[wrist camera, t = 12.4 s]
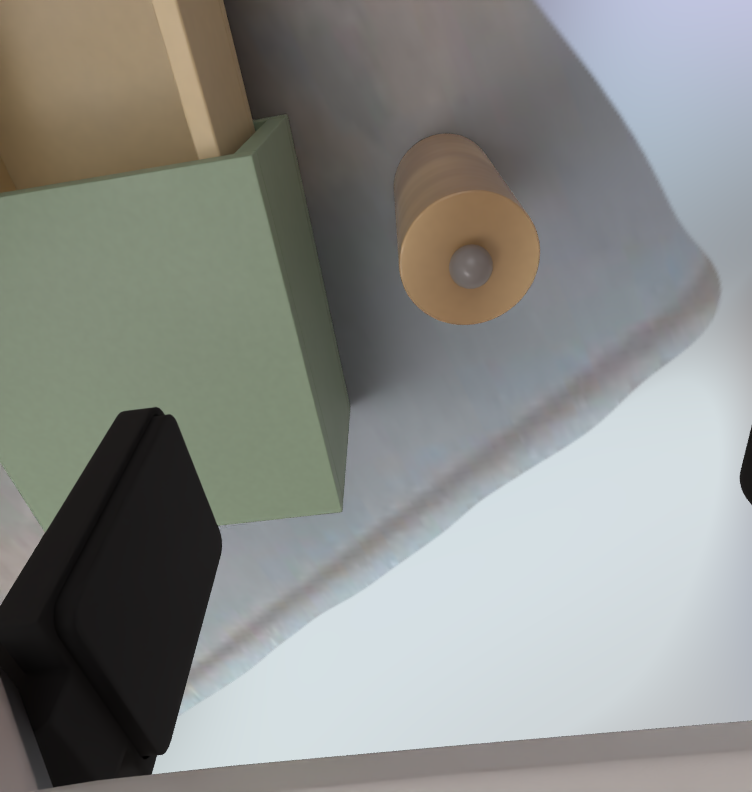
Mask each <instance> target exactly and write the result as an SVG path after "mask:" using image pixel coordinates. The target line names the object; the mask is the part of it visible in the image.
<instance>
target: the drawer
mask: <svg viewBox="0 0 752 792" xmlns="http://www.w3.org/2000/svg"><path fill="white" fill-rule="evenodd" d="M254 133H255V128H254V124H253V120H252V116H251V112H250V108H249V104H248V100H247V96H246V92H245V88H244V84H243V79H242V75H241V71H240V67H239V63H238V59H237V55H236V51H235V47H234V43H233V39H232V35H231V31H230V27H229V22H228V18H227V14H226V10H225V6H224V2H223V0H0V193H3V192H9V191H15V190H21V189H27V188H33V187H39V186H45V185H51V184H57V183H63V182H69V181H75V180H81V179H87V178H93V177H99V176H105V175H111V174H117V173H123V172H129V171H135V170H141V169H147V168H153V167H159V166H165V165H171V164H177V163H183V162H189V161H195V160H201V159H207V158H213V157H219V156H225V155H231V154H234V153H235V152H236V151H237V150H238V149H239V148H240V147H241V146H242V145H243V144H244V143H245V142H246V141H247V140H248V139H249V138H250V137H251V136H252V135H253V134H254Z"/></svg>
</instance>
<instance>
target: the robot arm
mask: <svg viewBox="0 0 752 792" xmlns="http://www.w3.org/2000/svg"><path fill="white" fill-rule="evenodd" d="M740 484H741V488H742V491H743V493H744V495H745V496H746V498H747V499H748V501H749V502H750V503H751V504H752V427H751V431H750V436H749V439H748V443H747V447H746V451H745V455H744V459H743V463H742V468H741V472H740ZM221 551H222V539H221V534H220V530H219V528H218V525H217V523H216V520H215V517H214V515H213V512H212V510H211V507H210V505H209V502H208V500H207V497H206V495H205V492H204V490H203V487H202V484H201V482H200V479H199V477H198V474H197V472H196V469H195V467H194V464H193V462H192V459H191V456H190V454H189V451H188V449H187V446H186V444H185V441H184V439H183V436H182V434H181V431H180V428H179V426H178V423H177V421H176V419H175V418H174V416H173V415H171V414H167V415H165V414H164V412H163V411H162V410H161V409H160V408H158V407H152V408H144V409H136V410H128V411H123V412H120V413H119V414H118V415H117V417H116V418H115V420H114V422H113V423H112V425H111V427H110V428H109V430H108V431H107V433H106V435H105V436H104V438H103V440H102V441H101V443H100V444H99V446H98V448H97V449H96V451H95V453H94V454H93V456H92V458H91V459H90V461H89V462H88V464H87V466H86V467H85V469H84V471H83V472H82V474H81V475H80V477H79V479H78V480H77V482H76V484H75V485H74V487H73V488H72V490H71V492H70V493H69V495H68V497H67V498H66V500H65V501H64V503H63V505H62V506H61V508H60V510H59V511H58V513H57V514H56V516H55V518H54V519H53V521H52V523H51V524H50V526H49V527H48V529H47V531H46V532H45V534H44V536H43V537H42V539H41V540H40V542H39V544H38V545H37V547H36V549H35V550H34V552H33V553H32V555H31V557H30V558H29V560H28V562H27V563H26V565H25V567H24V568H23V570H22V571H21V573H20V575H19V576H18V578H17V580H16V581H15V583H14V584H13V586H12V588H11V589H10V591H9V593H8V594H7V596H6V597H5V599H4V601H3V602H2V604H1V606H0V792H752V721H740V722H728V723H716V724H705V725H692V726H680V727H668V728H658V729H657V728H656V729H645V730H633V731H621V732H609V733H597V734H586V735H574V736H562V737H551V738H539V739H527V740H516V741H504V742H492V743H481V744H469V745H457V746H446V747H435V748H424V749H413V750H402V751H392V752H380V753H370V754H369V753H368V754H358V755H346V756H335V757H325V758H314V759H302V760H292V761H280V762H269V763H258V764H247V765H237V766H226V767H217V768H208V769H199V770H189V771H180V772H171V773H162V774H152V771H153V768H154V764H155V761H156V757H157V755H163V754H164V753H165V752H166V751H167V749H168V747H169V745H170V742H171V739H172V735H173V731H174V728H175V724H176V720H177V716H178V713H179V709H180V705H181V701H182V698H183V694H184V690H185V687H186V683H187V679H188V675H189V672H190V668H191V664H192V660H193V657H194V653H195V649H196V646H197V642H198V638H199V634H200V631H201V627H202V623H203V619H204V616H205V612H206V608H207V605H208V601H209V597H210V593H211V590H212V586H213V582H214V579H215V575H216V571H217V567H218V564H219V560H220V556H221Z"/></svg>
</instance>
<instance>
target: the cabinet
mask: <svg viewBox="0 0 752 792" xmlns="http://www.w3.org/2000/svg"><path fill="white" fill-rule="evenodd" d="M253 124H254V128H255V133H254V134H253V135H252V136H251V137H250V138H249V139H248V140H247V141H246V142H245V143H244V144H243V145H242V146H241V147H240V148H239V149H238V150H237V151H236V152H235V153H234V154H231V155H225V156H219V157H213V158H207V159H201V160H195V161H189V162H183V163H177V164H171V165H165V166H159V167H153V168H147V169H141V170H135V171H129V172H123V173H117V174H111V175H105V176H99V177H93V178H87V179H81V180H75V181H69V182H63V183H57V184H51V185H45V186H39V187H33V188H27V189H21V190H15V191H9V192H3V193H0V463H1V464H2V466H3V467H4V469H5V470H6V472H7V474H8V475H9V477H10V478H11V480H12V481H13V483H14V485H15V486H16V488H17V489H18V491H19V492H20V494H21V496H22V497H23V499H24V500H25V502H26V503H27V505H28V507H29V508H30V510H31V511H32V513H33V514H34V516H35V518H36V519H37V521H38V522H39V524H40V525H41V527H42V529H43V530H44V532H46V531H47V529H48V527H49V526H50V524H51V523H52V521H53V519H54V518H55V516H56V514H57V513H58V511H59V510H60V508H61V506H62V505H63V503H64V501H65V500H66V498H67V497H68V495H69V493H70V492H71V490H72V488H73V487H74V485H75V484H76V482H77V480H78V479H79V477H80V475H81V474H82V472H83V471H84V469H85V467H86V466H87V464H88V462H89V461H90V459H91V458H92V456H93V454H94V453H95V451H96V449H97V448H98V446H99V444H100V443H101V441H102V440H103V438H104V436H105V435H106V433H107V431H108V430H109V428H110V427H111V425H112V423H113V422H114V420H115V418H116V417H117V415H118V414H119V413H120V412H123V411H128V410H136V409H144V408H152V407H158V408H160V409H161V410H162V411H163V412H164V414H165V415H167V414H171V415H173V416H174V418H175V419H176V421H177V423H178V426H179V428H180V431H181V434H182V436H183V439H184V441H185V444H186V446H187V449H188V451H189V454H190V456H191V459H192V462H193V464H194V467H195V469H196V472H197V474H198V477H199V479H200V482H201V484H202V487H203V490H204V492H205V495H206V497H207V500H208V502H209V505H210V507H211V510H212V512H213V515H214V517H215V520H216V523H217V525H218V526H219V525H228V524H238V523H247V522H256V521H265V520H274V519H283V518H292V517H301V516H311V515H320V514H329V513H338V512H342V509H343V496H344V483H345V470H346V457H347V444H348V431H349V417H350V403H349V398H348V394H347V389H346V384H345V380H344V375H343V370H342V366H341V361H340V356H339V352H338V347H337V342H336V338H335V333H334V329H333V324H332V319H331V315H330V310H329V305H328V301H327V296H326V291H325V287H324V282H323V277H322V273H321V268H320V264H319V259H318V254H317V250H316V245H315V240H314V236H313V231H312V226H311V222H310V217H309V212H308V208H307V203H306V199H305V194H304V189H303V185H302V180H301V175H300V171H299V166H298V161H297V157H296V152H295V147H294V143H293V138H292V134H291V129H290V124H289V120H288V115H287V114H285V115H279V116H273V117H267V118H261V119H256V120H253Z"/></svg>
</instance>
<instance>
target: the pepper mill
mask: <svg viewBox="0 0 752 792" xmlns="http://www.w3.org/2000/svg"><path fill="white" fill-rule="evenodd" d="M394 201H395V215H396V229H397V243H398V258H399V272H400V276H401V281H402V283H403V286H404V288H405V290H406V292H407V294H408V296H409V297H410V299H411V300H412V301H413V303H414V304H415V305H416V306H417V307H418V308H419V309H421V310H422V311H423V312H424V313H426V314H428V315H429V316H431V317H433V318H435V319H437V320H440V321H443V322H446V323H450V324H457V325H470V324H478V323H483V322H486V321H489V320H492V319H494V318H496V317H498V316H500V315H502V314H504V313H505V312H507V311H508V310H510V309H511V308H512V307H514V306H515V305H516V304H517V303H518V302H519V301H520V300H521V299H522V297H523V296H524V295H525V294H526V292H527V291H528V289H529V288H530V286H531V284H532V282H533V280H534V278H535V276H536V273H537V270H538V265H539V260H540V243H539V238H538V234H537V231H536V228H535V226H534V224H533V222H532V220H531V219H530V217H529V215H528V214H527V213H526V211H525V210H524V208H523V207H522V206H521V204H520V203H519V201H518V200H517V198H516V197H515V196H514V194H513V193H512V191H511V190H510V188H509V187H508V186H507V184H506V183H505V181H504V180H503V179H502V177H501V176H500V174H499V173H498V171H497V170H496V169H495V167H494V166H493V164H492V163H491V161H490V160H489V159H488V157H487V156H486V154H485V153H484V152H483V150H482V149H481V148H480V147H479V146H478V145H477V144H476V143H474V142H473V141H471V140H470V139H468V138H466V137H463V136H460V135H456V134H447V133H445V134H437V135H432V136H430V137H427V138H425V139H423V140H421V141H419V142H418V143H416V144H415V145H414V146H413V147H412V148H410V149H409V150H408V152H407V153H406V154H405V155H404V157H403V158H402V160H401V161H400V163H399V166H398V168H397V171H396V174H395V179H394Z"/></svg>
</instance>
